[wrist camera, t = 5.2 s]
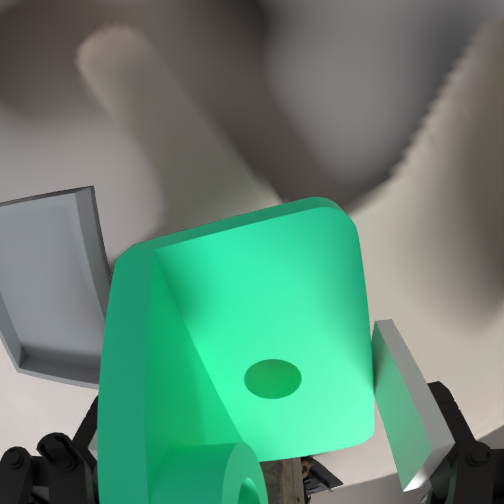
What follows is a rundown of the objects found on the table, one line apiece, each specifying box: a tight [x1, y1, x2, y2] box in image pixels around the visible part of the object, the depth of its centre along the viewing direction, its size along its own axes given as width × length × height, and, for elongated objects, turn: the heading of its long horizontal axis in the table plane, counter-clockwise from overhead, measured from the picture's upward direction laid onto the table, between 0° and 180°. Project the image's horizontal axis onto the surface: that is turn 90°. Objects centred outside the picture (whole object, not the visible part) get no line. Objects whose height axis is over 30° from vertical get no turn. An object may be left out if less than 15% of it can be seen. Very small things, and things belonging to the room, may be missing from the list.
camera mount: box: [97, 197, 374, 504], centre depth 9 cm, size 12×8×10 cm, turn 16°
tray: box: [0, 186, 112, 390], centre depth 21 cm, size 14×16×2 cm
